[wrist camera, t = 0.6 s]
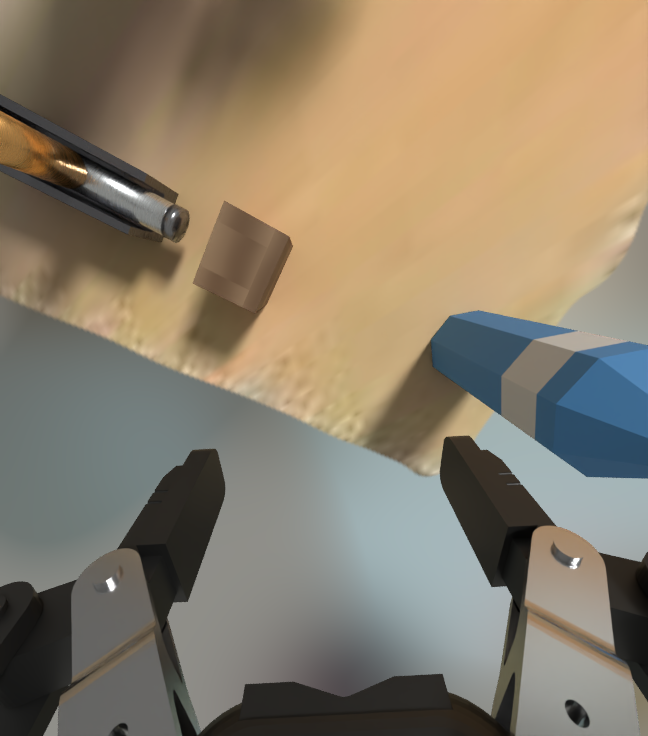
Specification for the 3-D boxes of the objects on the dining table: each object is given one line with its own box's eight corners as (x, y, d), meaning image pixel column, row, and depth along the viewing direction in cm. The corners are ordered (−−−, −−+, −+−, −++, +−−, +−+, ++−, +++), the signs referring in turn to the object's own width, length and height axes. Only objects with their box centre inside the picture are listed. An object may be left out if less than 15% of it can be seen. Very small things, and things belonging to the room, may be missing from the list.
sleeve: (11, 166, 30) (-66, 137, 23) (23, 110, 28) (-56, 64, 22) (161, 242, 32) (127, 234, 26) (178, 193, 31) (146, 173, 25)
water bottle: (416, 336, 37) (616, 447, 13) (484, 294, 36) (830, 333, 12) (448, 394, 40) (662, 573, 16) (512, 357, 39) (843, 487, 15)
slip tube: (5, 154, 27) (-174, 82, 17) (12, 117, 26) (-170, 18, 16) (181, 244, 30) (119, 228, 20) (192, 213, 29) (134, 181, 19)
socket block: (220, 280, 34) (192, 283, 25) (245, 220, 32) (224, 200, 24) (266, 304, 35) (254, 313, 26) (292, 246, 33) (289, 236, 25)
